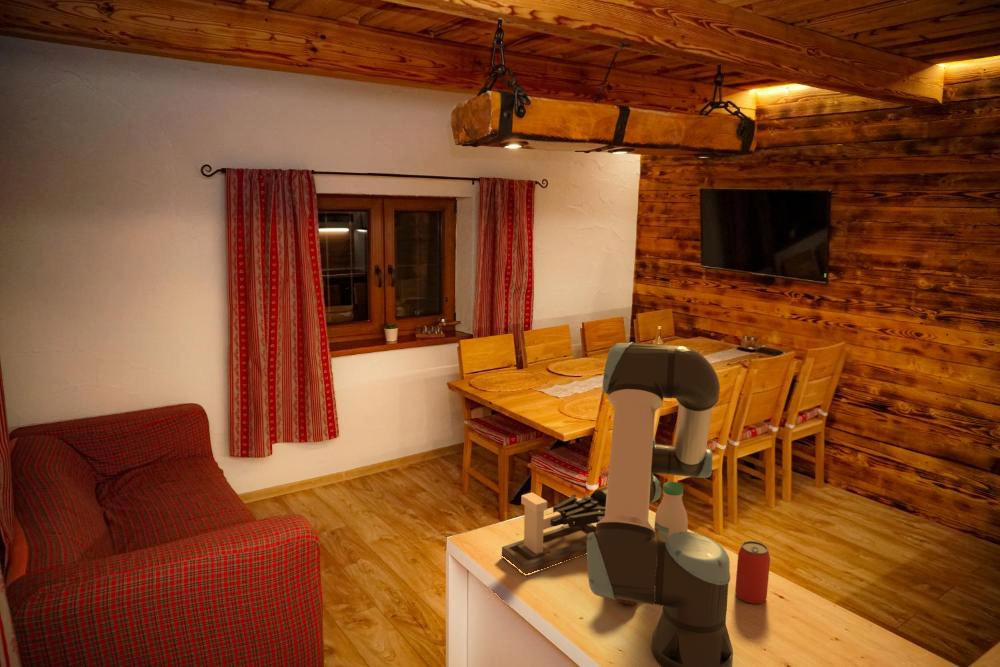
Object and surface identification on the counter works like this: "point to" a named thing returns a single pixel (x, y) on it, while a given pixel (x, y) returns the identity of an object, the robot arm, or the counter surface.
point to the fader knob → (533, 526)
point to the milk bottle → (670, 512)
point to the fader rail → (552, 548)
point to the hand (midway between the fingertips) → (537, 524)
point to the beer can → (752, 572)
